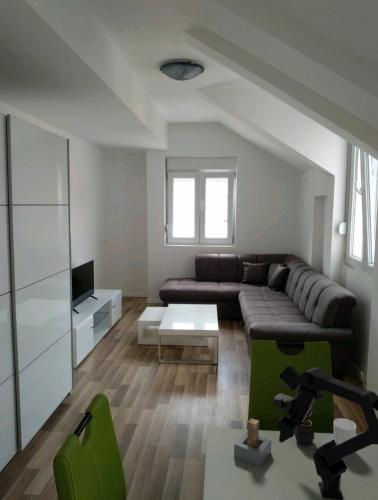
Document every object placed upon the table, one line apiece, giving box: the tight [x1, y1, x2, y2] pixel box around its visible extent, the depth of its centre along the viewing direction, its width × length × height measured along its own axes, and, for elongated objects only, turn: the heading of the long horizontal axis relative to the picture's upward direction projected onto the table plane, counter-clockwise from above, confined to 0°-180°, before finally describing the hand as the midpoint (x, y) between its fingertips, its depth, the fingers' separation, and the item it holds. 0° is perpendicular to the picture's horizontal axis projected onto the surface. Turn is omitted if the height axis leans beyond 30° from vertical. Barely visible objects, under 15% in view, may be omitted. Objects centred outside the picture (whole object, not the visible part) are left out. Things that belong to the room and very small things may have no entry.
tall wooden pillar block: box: [247, 418, 260, 449], centre depth 145 cm, size 3×3×12 cm
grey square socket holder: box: [233, 431, 272, 468], centre depth 145 cm, size 10×10×5 cm
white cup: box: [333, 417, 357, 444], centre depth 149 cm, size 8×8×10 cm
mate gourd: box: [294, 419, 315, 446], centre depth 153 cm, size 7×8×10 cm
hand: (285, 435), depth 138 cm, fingers open, 9 cm apart
